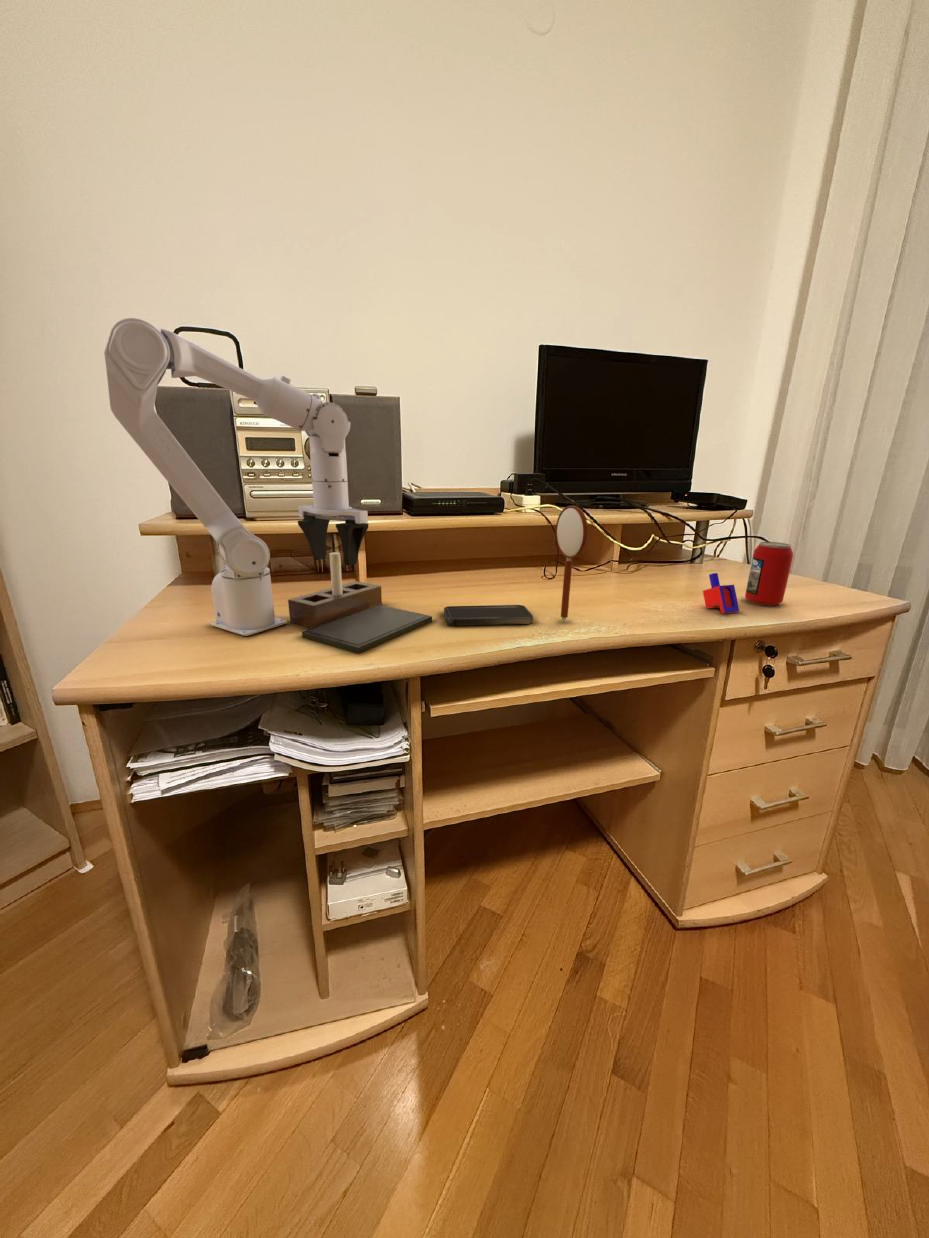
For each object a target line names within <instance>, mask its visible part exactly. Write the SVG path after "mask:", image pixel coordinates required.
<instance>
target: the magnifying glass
mask: <svg viewBox="0 0 929 1238" xmlns="http://www.w3.org/2000/svg"><path fill="white" fill-rule="evenodd" d="M588 538H589V525H588V521H587V517H586V515H585V513H584V512H583V510H582V509H581V508H580V507H579V506H578V505H567V506H565V507H564V508H563V509H562V510H561V511H560V513H559V515H558V517H557V519H556V524H555V541H556V545H557V548H558V550H559V552H560V553H561V555H562V556H564V557H565V558H566V559H565V560H564V568H563V570H564V571H563V581H562V582H563V583H562V595H561V606H560V608H561V609H560V618H561V623H565V622H566V621H567V618H568V617H569V605H570V594H571V581H572V571H573V560H574V559H576V558H578V557H580V556H581V554H583V552H584V550H585V549H586V547H587V544H588ZM572 559H573V560H572Z"/></svg>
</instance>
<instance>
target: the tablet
mask: <svg viewBox="0 0 929 1238" xmlns="http://www.w3.org/2000/svg"><path fill="white" fill-rule="evenodd" d="M432 622H433V616H432V615H429V614H424V613H418V612H415V611H409V610H405V609H401V608H396V607H393V606H387V605H383V604H382V605H378V606H375V607H372V608H369V609H366V610H363V611H360V612H357V613H354V614H352V615H349V616H346V617H343V618H340V619H337V620H334V621H331V622H328V623H325V624H322V625H320V626H317V627H314V628H311V627H310V628H308V629H305V630H302V631H301V638H303V639H306V640H310V641H313V642H317V643H320V644H324V645H326V646H327V645H328V646H330V647H334V648H337V649H340V650H343V651H347V652H351V653H354V654H358V655H360V654H362V653H364V652H366V651H369V650H371V649H374V648H376V647H378V646H380V645H383V644H385V643H386V642H387V643H388V642H389V641H391V640H394V639H397V638H398V637H401V636H403V635H405V634H407V633H410V632H412V631H414V630H417V629H418V628H421V627H423V626H426V625H428V624H430V623H432Z"/></svg>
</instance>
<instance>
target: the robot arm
mask: <svg viewBox="0 0 929 1238" xmlns="http://www.w3.org/2000/svg"><path fill="white" fill-rule="evenodd" d="M109 331H110V332H109V334H108V337H107V341H106V345H105V347H104V352H103V354H104V355H103V356H104V361H105V363H104V364H105V369H106V380H107V386H108V387H107V389H108V395H109V396H108V399H109V407H110V411H111V412H112V414H113V416H114V417H115V419H116V420H117V421H118V422H119V424H120V425H121V426H122V427H123V429H124V430H125V431H126V432H127V434H129V436H130V437H131V439H133V441H134V442H135V443H136V444H137V446H138V447H139V448H140V449H141V451H142V452H143V453H144V454H145V456H146V457H147V458H148V459H149V460H150V461H151V463H152V465H153V466H154V467H155V468H156V469H157V470H158V471H159V473H160V474H161V475H162V477H163V478H164V480H166V482H168V484H169V485H170V486H171V487H172V488H173V490H174V491H175V492H176V494H177V495H178V496H179V497H180V498H181V500H182V501H183V502H184V503H185V505H186V506H187V507H188V508H189V509H190V511H191V512H192V513H193V514H194V516H195V517H196V518H197V519H198V521H199V522H200V523H201V525H203V527H204V528H205V530H207V531H208V533H209V534H210V536H211V537H212V538H213V540H214V541H215V543H216V547H217V552H218V554H219V556H220V557H221V559H222V560H223V561H224V562H225V564H224V566H223V567H222V568H221V570H220V571H219V573H217V574H216V575H215V576H214V577H213V580H212V582H211V587H210V589H211V590H210V591H211V598H212V603H213V612H214V617H215V621H212V622H211V623H210V625H211V627H215V628H218V629H221V630H225V631H227V632H230V633H234V634H237V635H240V636H244V637H248V636H251V635H255V634H258V633H262V632H264V631H267V630H271V629H273V628H277V627H281V626H283V625H286V624H287V623H288V621H287V620H286V619H283V618H280V617H279V618H278V617H276V615H275V614H276V613H275V606H274V597H273V587H272V578H271V570H270V568H269V567H268V566H269V563H270V559H271V552H270V549H269V547H268V545H267V544H266V542H265V541H264V540H263V539H261V538H260V537H258V536H256V535H255V534H254V533H253V532H252V531H250V530H248V529H247V528H246V527H245V526H244V524H243V523H242V521H240V519H239V518H238V517H237V516H236V515H235V513H233V511H232V509H230V507H229V506H228V505H227V504H226V503H225V501H224V499H223V498H222V497H221V496H220V495H219V493H218V492H217V490H216V488H214V487H213V485H212V484H211V482H210V481H209V480H208V479H207V477H206V476H205V475H204V473H203V472H202V471H201V469H200V468H199V467H198V465H197V464H196V463H195V462H194V460H193V459H192V457H191V456H189V453H187V451H186V450H185V448H184V447H183V446H182V445H181V444H180V442H179V441H178V439H177V438H176V437H175V435H174V434H173V433H172V432H171V430H170V429H169V428H168V427H167V425H166V424H165V422H164V421H163V420H162V419H161V417H160V416H159V415H158V413H157V412H156V411H155V405H156V399H157V392H158V387H159V384H160V383H161V381H162V380H163V377H164V376H165V374H166V373H167V370H170V373H171V374H170V375H171V379H178V378H187V377H189V378H190V377H197V378H200V379H201V380H204V381H206V382H209V383H211V384H214V385H216V386H219V387H221V388H223V389H226V390H228V391H231V392H232V393H236V394H237V395H240V396H243V397H245V398H247V399H250V400H251V401H254V403H255V405H256V406H257V408H258V409H259V410H258V411H259V412H260V413H261V414H262V415H264V416H266V417H268V418H271V419H273V420H275V421H276V422H280V423H282V424H283V425H286V426H289V427H291V428H292V429H295V430H298V431H299V432H304V433H305V434H306V436H307V437H308V438H309V450H310V451H309V457H310V470H311V472H310V473H311V484H312V485H311V486H312V496H313V497H312V498H313V505H310V504H309V505H308V504H306V505H298V516H299V518H303V519H300V520H297V525H298V527H299V528H300V530H301V531H302V533H303V534H304V536H305V538H306V540H307V542H308V545H309V547H310V548H309V549H310V551H311V553H312V556H313V558H314V561H320V560H326V558H327V535H328V529H329V524H330V522H331V521H339V522H340V521H341V522H340V523H335V528H336V531H337V533H338V535H339V538H340V542H341V546H342V554H343V555H342V557H343V561H344V565H345V566H347V567H349V566H354V565H357V563H358V557H359V553H360V548H361V546H362V545H361V544H362V543H363V539H364V537H365V535H366V533H367V531H368V529H369V518H368V516H369V515H368V510H364V509H363V510H361V509H358V508H353V507H352V506H350V504H349V501H350V500H349V485H348V484H349V482H348V465H347V464H348V463H347V452H346V450H347V449H346V437H347V436H348V435H349V432H350V431H351V421H349V419H348V416H347V413H346V412H345V411H344V409H343V408H342V407H341V406H340V405H338V404H337V403H334V402H331V401H327V402H322V401H321V395H319V394H318V393H315V392H314V393H312V394H311V393H309V392H307V391H305V390H303V389H301V388H300V387H299V388H298V387H297V386H295V385H293V384H291V382H292V380H291V379H290V378H288V377H286V375H282V376H280V377H278V376H275V375H272V376H269V377H266V378H263V379H262V378H260V377H258V376H256V375H254V374H252V373H250V372H248V371H246V370H245V369H243V368H241V367H239V366H237V365H235V364H234V363H232V362H229V360H226V359H224V358H222V357H220V356H218V355H217V354H215V353H213V352H211V351H209V350H208V349H206V348H203V347H202V346H200V345H198V344H196V343H195V342H193V341H190V340H188V339H186V338H185V337H183V336H181V335H179V334H177V333H175V332H173V331H170V330H167V329H164V328H160V330H159V329H158V328H157V327H156V326H155V325H153V324H152V323H150V322H148V321H146V320H143V319H140V318H135V317H128V318H122V319H120V320H119V321H117V322H115V324H114V325H112V327H111V329H110V330H109Z"/></svg>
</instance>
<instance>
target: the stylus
mask: <svg viewBox="0 0 929 1238" xmlns="http://www.w3.org/2000/svg"><path fill="white" fill-rule="evenodd" d="M341 560H342V559H341V552H337V551H336V552H335V551H334V552H333V551H332V552H329V568H330V569H329V570H330V580H331V581H330V582H331V583H330V584H331V588H332V595H335V596H338V595H342V594H343V591H342V585H343V578H342V577H343V576H342V563H341V562H342V561H341Z"/></svg>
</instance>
